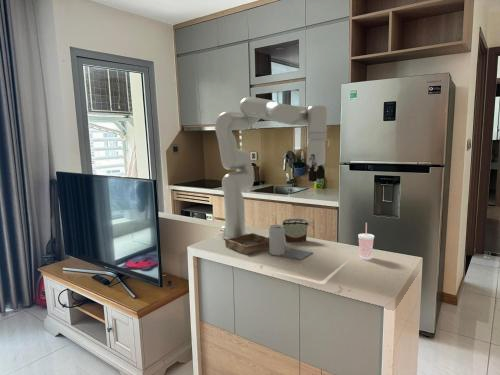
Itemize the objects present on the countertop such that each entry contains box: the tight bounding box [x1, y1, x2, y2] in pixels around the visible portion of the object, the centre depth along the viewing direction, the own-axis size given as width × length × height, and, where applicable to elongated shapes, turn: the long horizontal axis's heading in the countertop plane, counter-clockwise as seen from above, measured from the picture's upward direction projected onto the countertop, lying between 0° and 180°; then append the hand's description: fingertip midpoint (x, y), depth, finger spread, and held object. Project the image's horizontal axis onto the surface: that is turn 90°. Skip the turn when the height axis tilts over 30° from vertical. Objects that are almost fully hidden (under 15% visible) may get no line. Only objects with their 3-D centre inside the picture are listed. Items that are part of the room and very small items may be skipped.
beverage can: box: [268, 224, 286, 257], centre depth 147 cm, size 6×6×12 cm
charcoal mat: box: [279, 248, 313, 261], centre depth 147 cm, size 10×10×1 cm
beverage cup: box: [357, 222, 375, 260], centre depth 140 cm, size 6×6×14 cm
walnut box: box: [224, 232, 269, 256], centre depth 158 cm, size 16×16×4 cm
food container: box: [281, 218, 310, 243], centre depth 166 cm, size 12×6×10 cm, turn 84°
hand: (316, 179), depth 144 cm, fingers open, 9 cm apart
